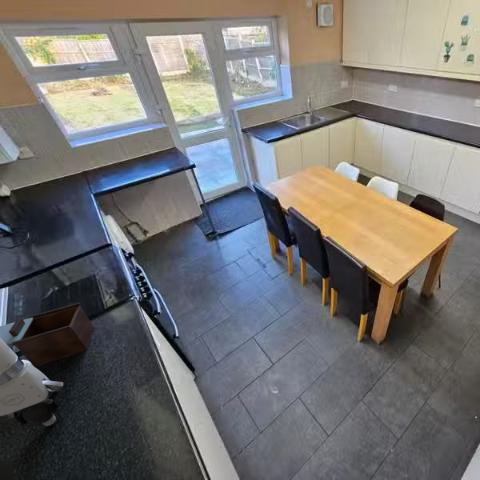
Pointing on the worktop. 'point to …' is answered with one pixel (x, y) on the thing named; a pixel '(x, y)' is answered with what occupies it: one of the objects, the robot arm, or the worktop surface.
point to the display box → (56, 335)
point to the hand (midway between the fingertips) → (42, 413)
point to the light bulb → (38, 414)
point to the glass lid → (14, 330)
